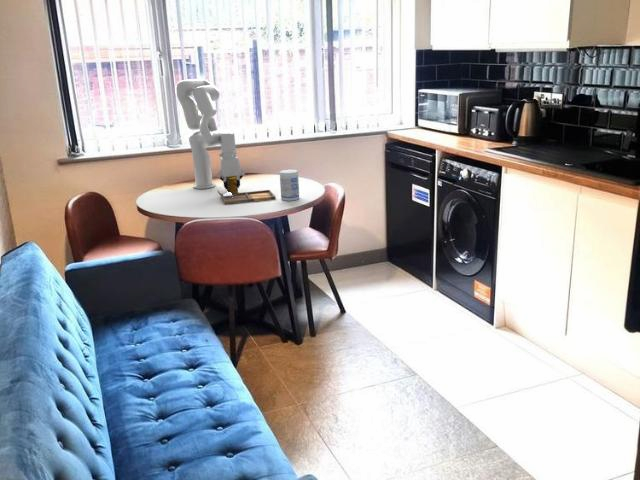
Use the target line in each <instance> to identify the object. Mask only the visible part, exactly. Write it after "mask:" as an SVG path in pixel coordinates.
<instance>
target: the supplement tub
mask: <svg viewBox="0 0 640 480" xmlns="http://www.w3.org/2000/svg"><path fill="white" fill-rule="evenodd" d="M298 172H299V171H298V169H283V170H281V171H279V184H280V185H279V186H280V199H281V200H282V201H284V202H292V201H297V200H298V199H300V187H299V185H300V183H299V173H298Z"/></svg>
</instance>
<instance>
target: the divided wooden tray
mask: <svg viewBox="0 0 640 480" xmlns="http://www.w3.org/2000/svg"><path fill="white" fill-rule="evenodd" d="M232 195H233V198H228V199H227V198H224V196H223V194H220V196H221V197H220V198H221V200H222V202H223V204H224V206H225V205H235V204H243V203H252V202H253V203H254V202H264V201H272V200H276V195H275V194H274V193H273V192H272V191H271V189H265V190H263V189H262V190H255V191H254V190H253V191H245V192H238V193H234V194H232Z"/></svg>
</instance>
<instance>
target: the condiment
mask: <svg viewBox="0 0 640 480" xmlns="http://www.w3.org/2000/svg"><path fill="white" fill-rule="evenodd" d="M226 183H227V189H226V192H227V191H228V192H231V193H232V194H234V193H239V188H238V185H237V177H236V176H234V177H227V178H226Z"/></svg>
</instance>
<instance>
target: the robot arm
mask: <svg viewBox="0 0 640 480" xmlns="http://www.w3.org/2000/svg"><path fill="white" fill-rule="evenodd" d="M175 95H176V98H177V100H178V103H179V104H180V106H181V109H182V113H183V115H184V119H185V122H186V126H187V128H189V130H192V131H193V130H194V131H193V132H192V133H190V135H189V138H188V142H189V146H190V149H191V153H192V162H193V169H194V170H193V171H194V178H195V179H194V180H195V183H194V184H193V187H192V188H193V189H197V190H198V189H199V190H203V189H204V190H205V189H212V188H215V187H216V183H215V182H213V176H212V165H211V164H212V163H211V156H210V153H209V151H208V150H207V148H211V147H216V146H220V149H221V150H220V151H221V153H219V154H218V155H219V157H221V158H220V171H218V172H217V174H216V177H217V178H218V179H220V180H221V182H223V188H224V189H225V190H227V183H226V178H227V177H234V176H236V177H237V185H238V189H240V186H241V180H242V179H243V177H244V176H245V174H246V172H245V171H244V170H243V169H241V166H240V160H239V157H238V156H237V151H236V150H237V149H236V148H237V147H236V138H235V136H236V135H235V132H234V131H228V130H225V129H221V130H219V129H218V127H217V124H216V120H215V116H216V114H217V109H216V106H215V103H214V101H218V100H219V99H220V91H219V89H218V88H217V86H216V85H215V84H214V83H212V82H209V81H208V80H206V79H205V78H194V79H191V78H190V79H184V80H180V81H178V82H177V83H176V85H175ZM191 96H193V97H191ZM193 98H194V99H193ZM195 130H198V131H195Z"/></svg>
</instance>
